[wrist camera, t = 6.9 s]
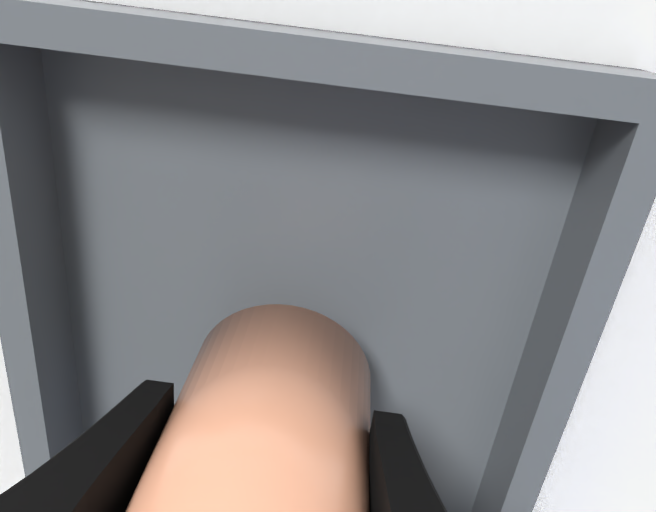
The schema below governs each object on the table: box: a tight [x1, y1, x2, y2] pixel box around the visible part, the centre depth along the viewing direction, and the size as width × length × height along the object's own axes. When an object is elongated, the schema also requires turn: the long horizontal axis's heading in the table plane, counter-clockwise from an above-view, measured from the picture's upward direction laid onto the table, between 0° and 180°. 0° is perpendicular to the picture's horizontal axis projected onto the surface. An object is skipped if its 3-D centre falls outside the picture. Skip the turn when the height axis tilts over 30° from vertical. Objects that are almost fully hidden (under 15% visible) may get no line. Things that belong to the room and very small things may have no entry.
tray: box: [0, 0, 656, 512], centre depth 14 cm, size 14×16×2 cm
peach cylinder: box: [125, 304, 371, 512], centre depth 11 cm, size 4×4×7 cm
